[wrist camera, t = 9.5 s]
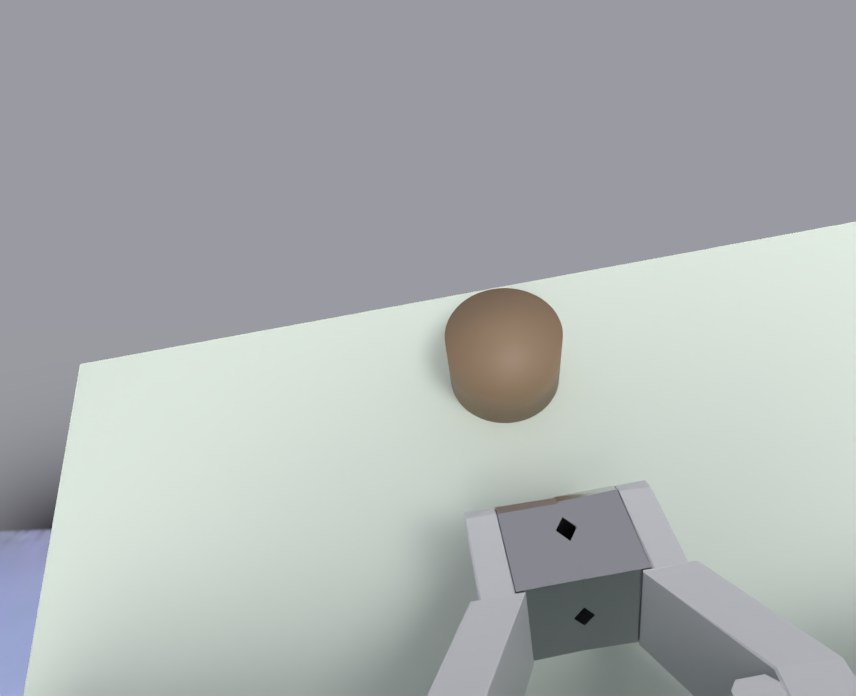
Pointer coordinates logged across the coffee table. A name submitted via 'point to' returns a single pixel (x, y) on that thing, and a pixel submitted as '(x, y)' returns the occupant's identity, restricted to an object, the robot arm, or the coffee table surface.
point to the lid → (451, 473)
